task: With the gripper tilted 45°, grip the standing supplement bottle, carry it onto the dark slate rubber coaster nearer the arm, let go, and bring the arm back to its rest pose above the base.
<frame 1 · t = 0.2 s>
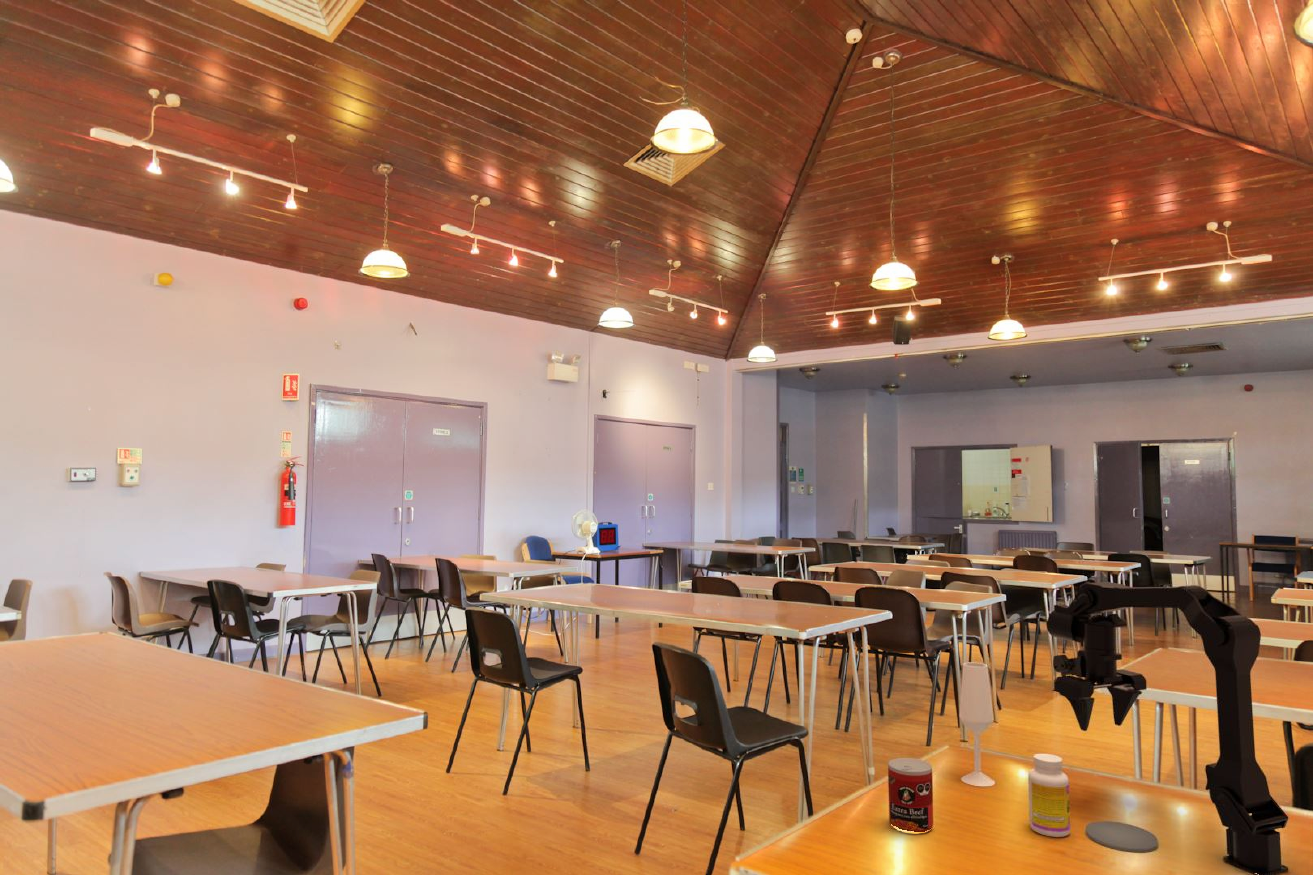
hand: (1100, 727, 160), 15 cm above the table, tool pointing down, fingers open, 9 cm apart
champagne flute: (978, 781, 172), on the table
supplement bottle: (1049, 831, 147), on the table
canned food: (911, 827, 149), on the table
slate coaster: (1121, 838, 144), on the table
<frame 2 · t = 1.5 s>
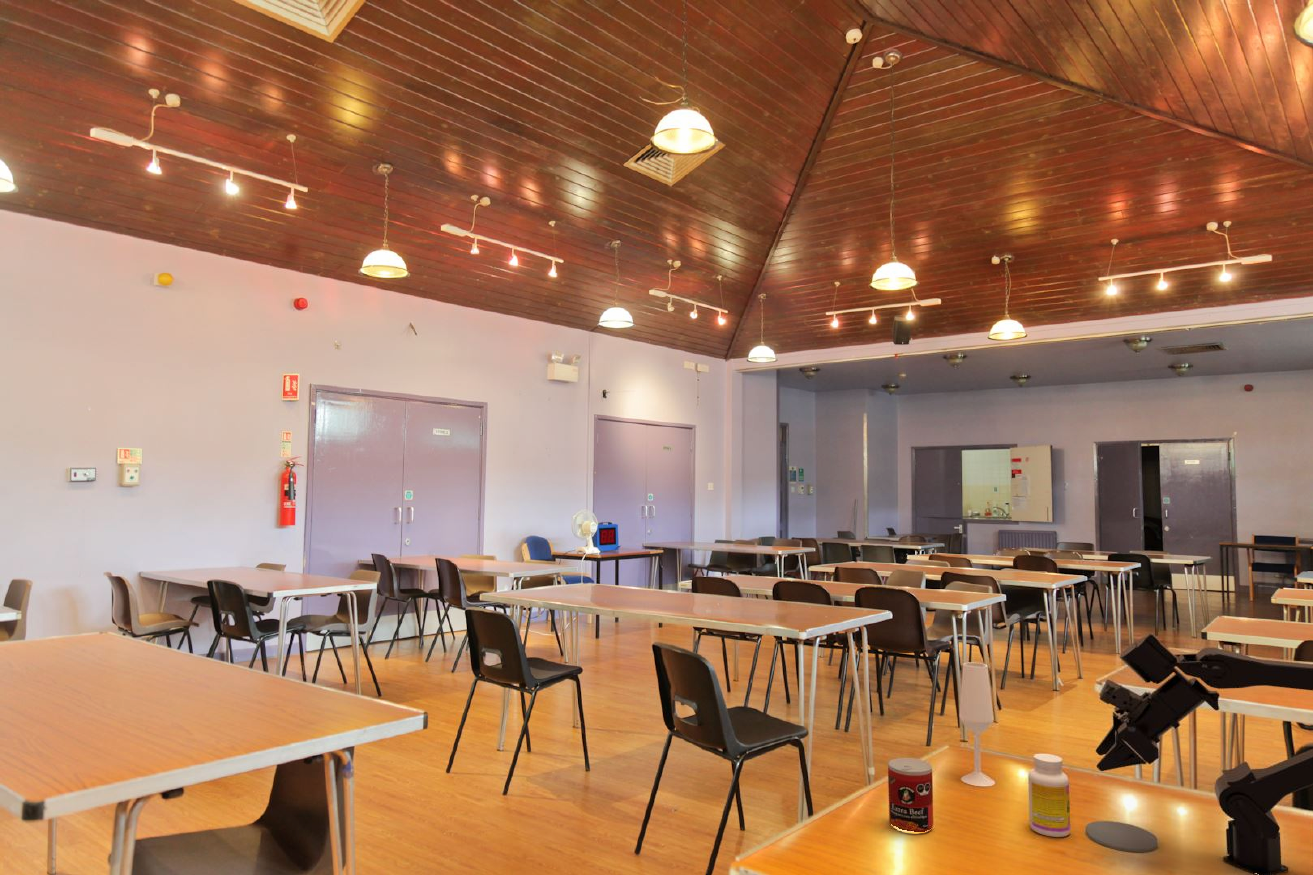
hand: (1098, 760, 144), 13 cm above the table, tool tilted 45°, fingers open, 9 cm apart
nothing on the table moved.
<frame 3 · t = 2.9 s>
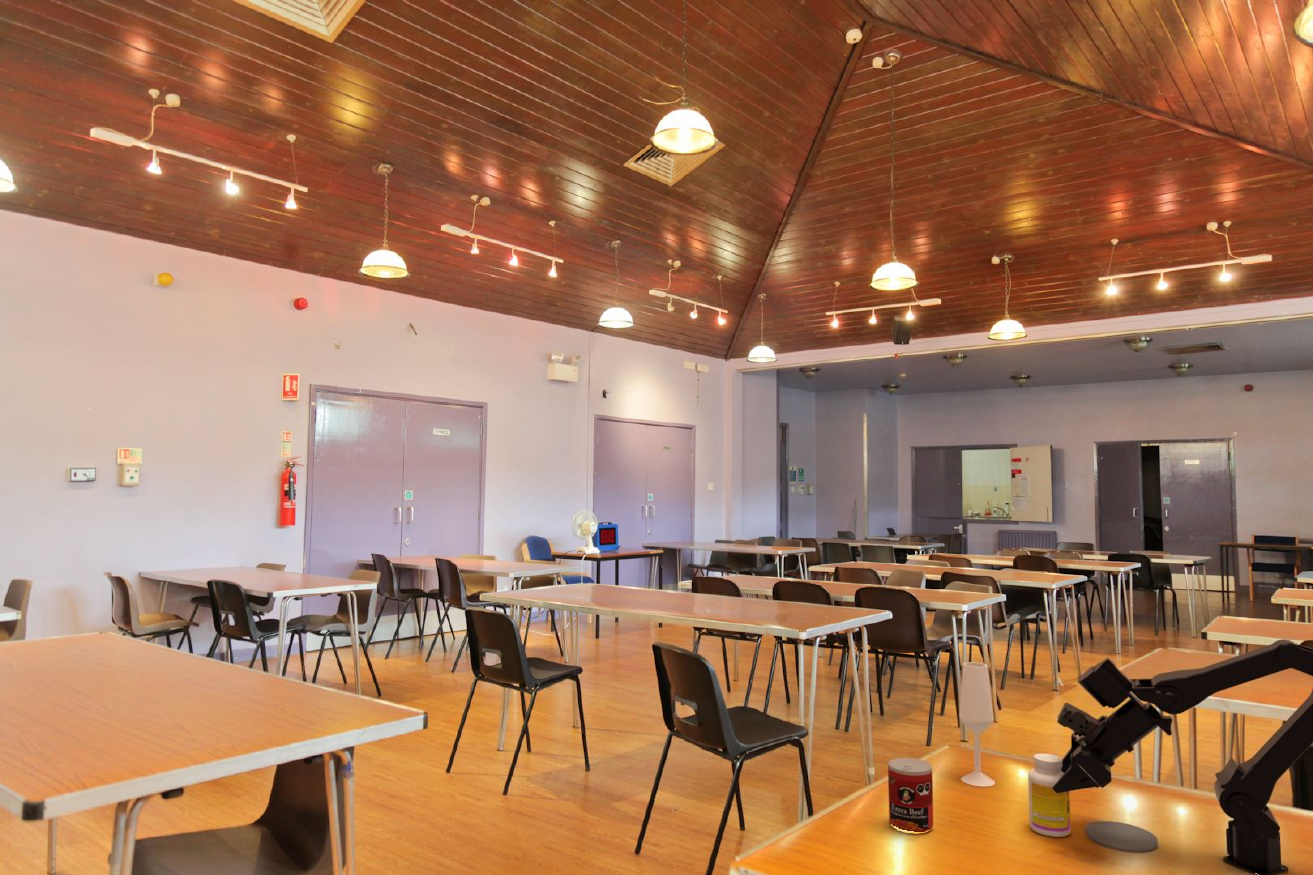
hand: (1055, 782, 147), 9 cm above the table, tool tilted 45°, fingers open, 9 cm apart
nothing on the table moved.
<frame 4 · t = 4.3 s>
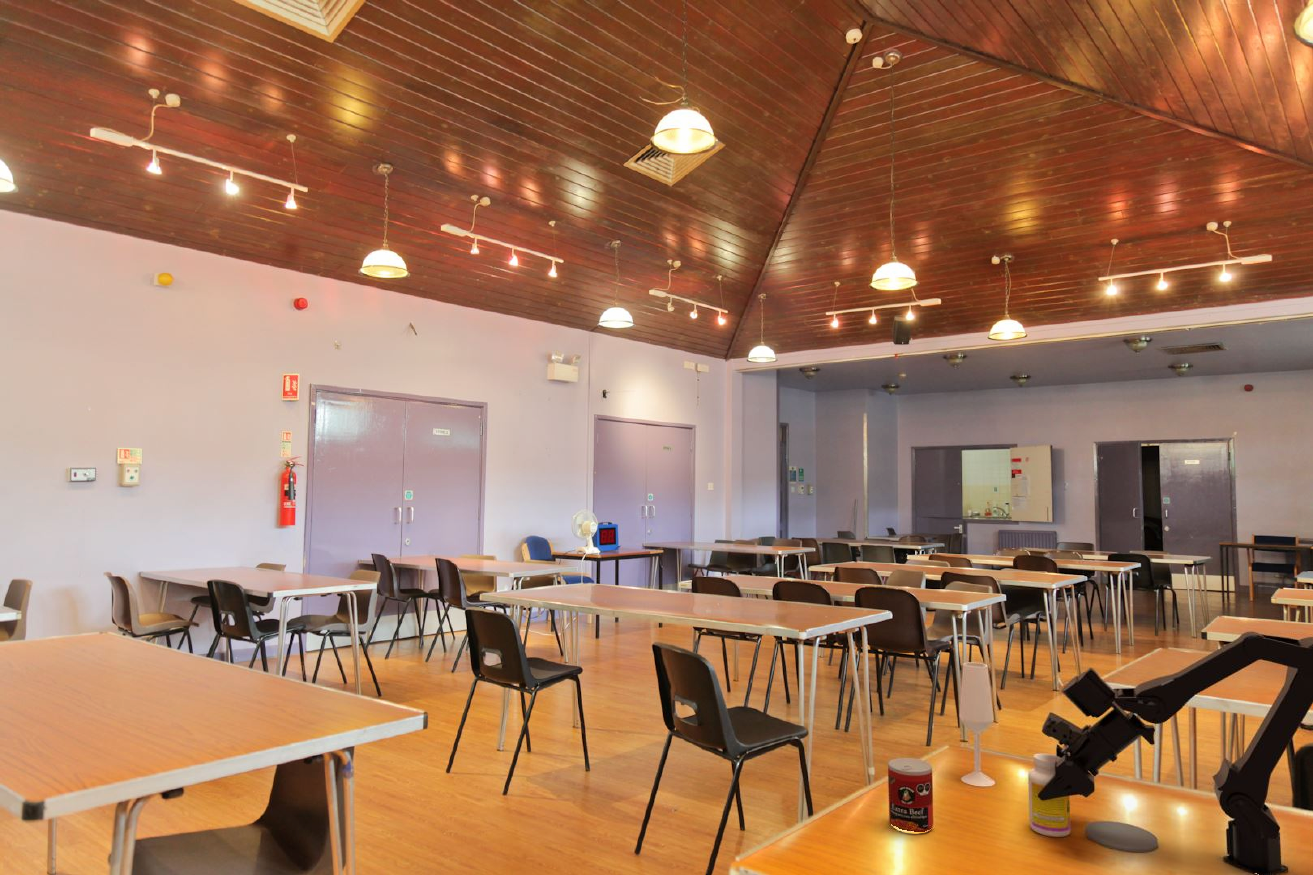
hand: (1040, 791, 148), 7 cm above the table, tool tilted 45°, fingers closed on supplement bottle, 7 cm apart
supplement bottle: (1049, 831, 147), on the table, touching gripper
everything else where it was.
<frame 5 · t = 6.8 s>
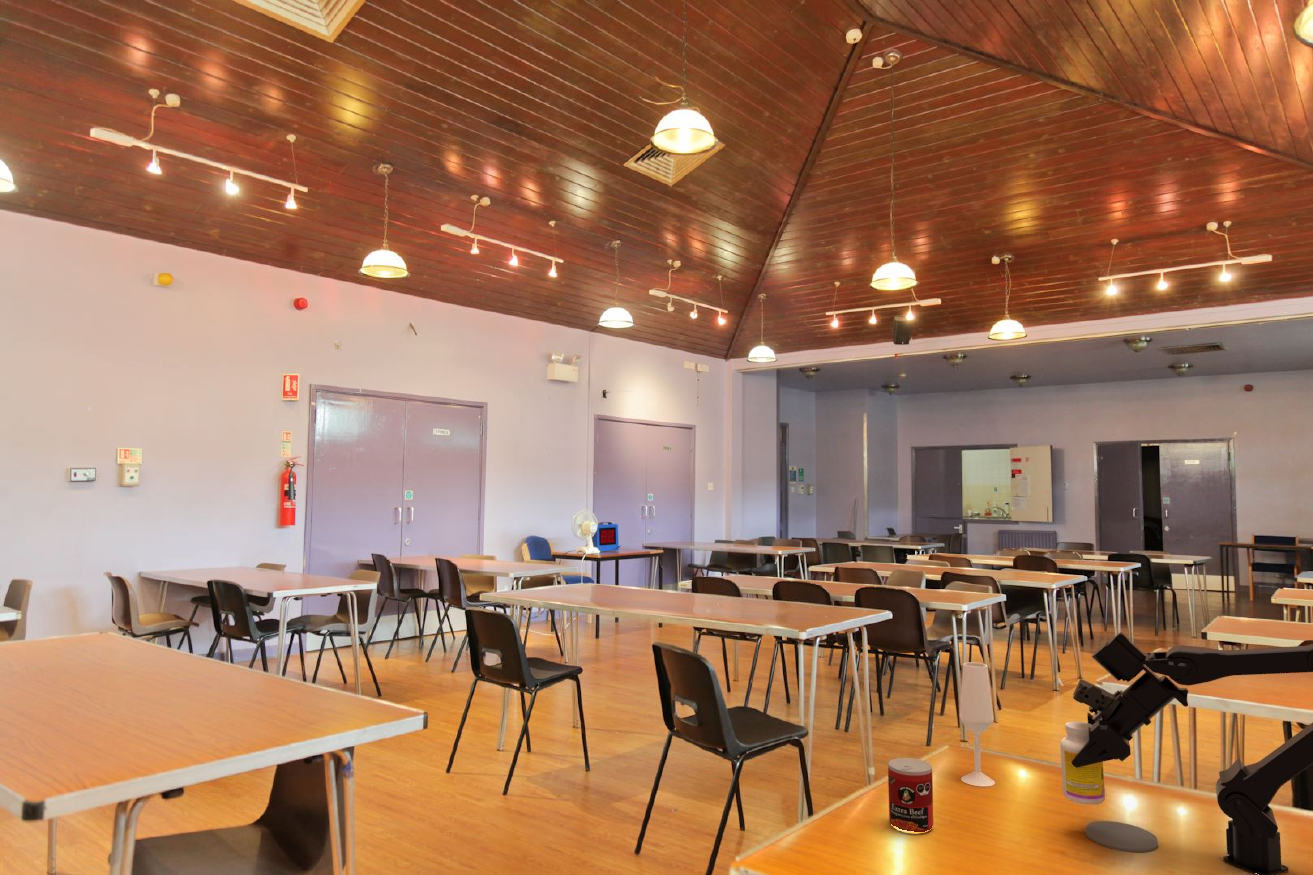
hand: (1073, 759, 147), 13 cm above the table, tool tilted 45°, fingers closed on supplement bottle, 7 cm apart
supplement bottle: (1084, 799, 146), point 6 cm above the table, touching gripper
everything else where it was.
when the fingers open (9 cm above the table, at t = 9.3 s): supplement bottle drops 1 cm, resting on slate coaster.
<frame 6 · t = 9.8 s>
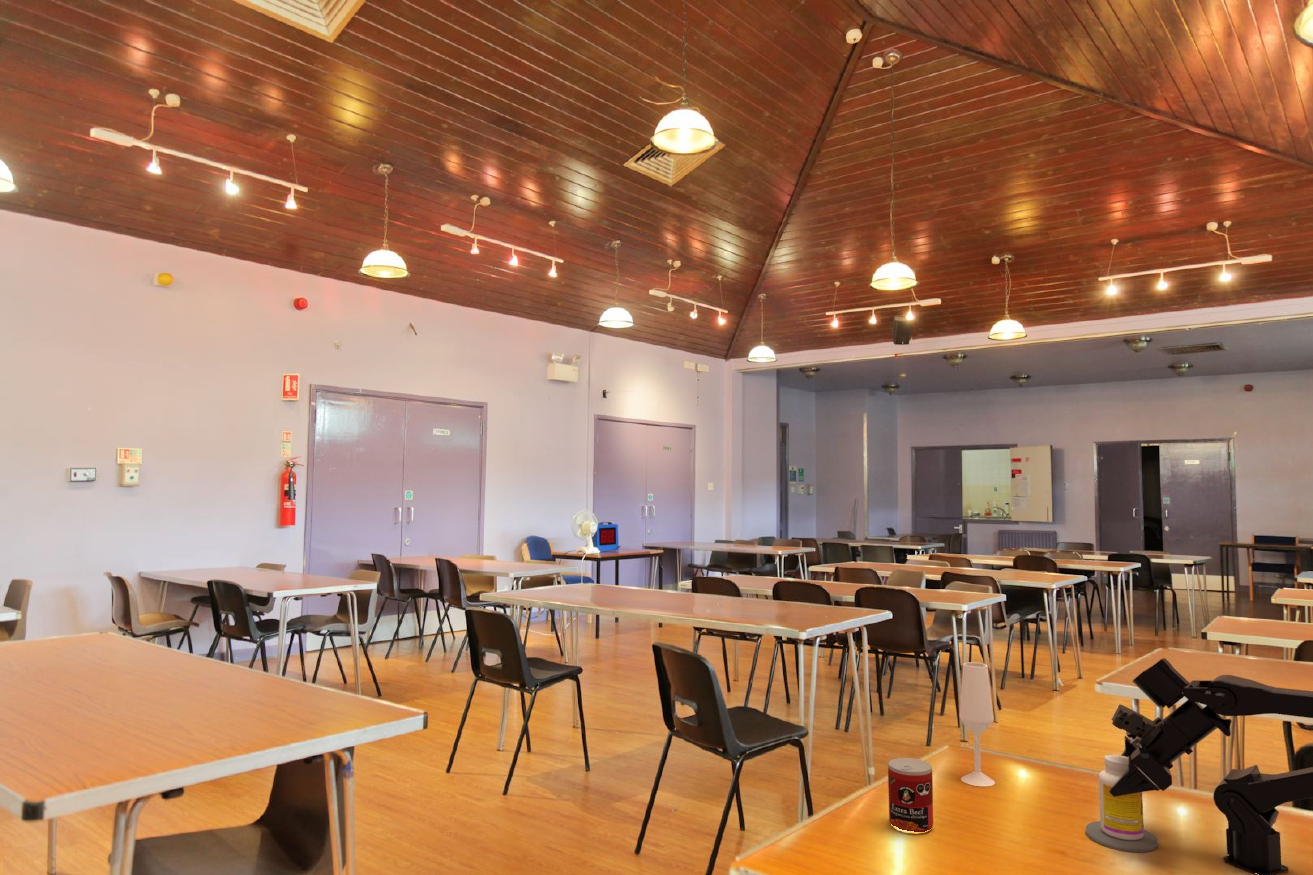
hand: (1110, 785, 145), 9 cm above the table, tool tilted 45°, fingers open, 9 cm apart
supplement bottle: (1122, 834, 144), point 1 cm above the table, touching slate coaster
everything else where it was.
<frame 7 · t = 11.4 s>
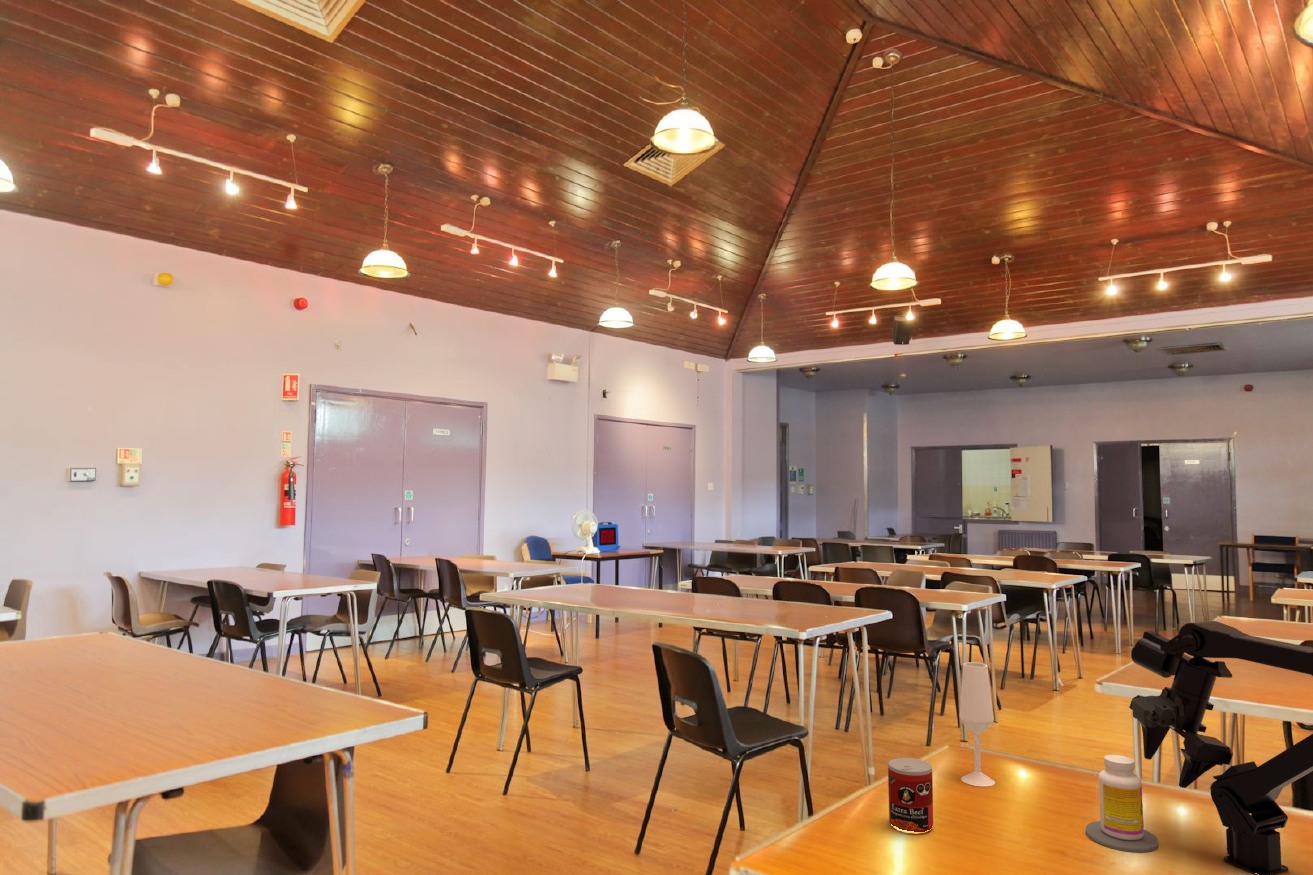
hand: (1164, 772, 145), 11 cm above the table, tool tilted 15°, fingers open, 9 cm apart
nothing on the table moved.
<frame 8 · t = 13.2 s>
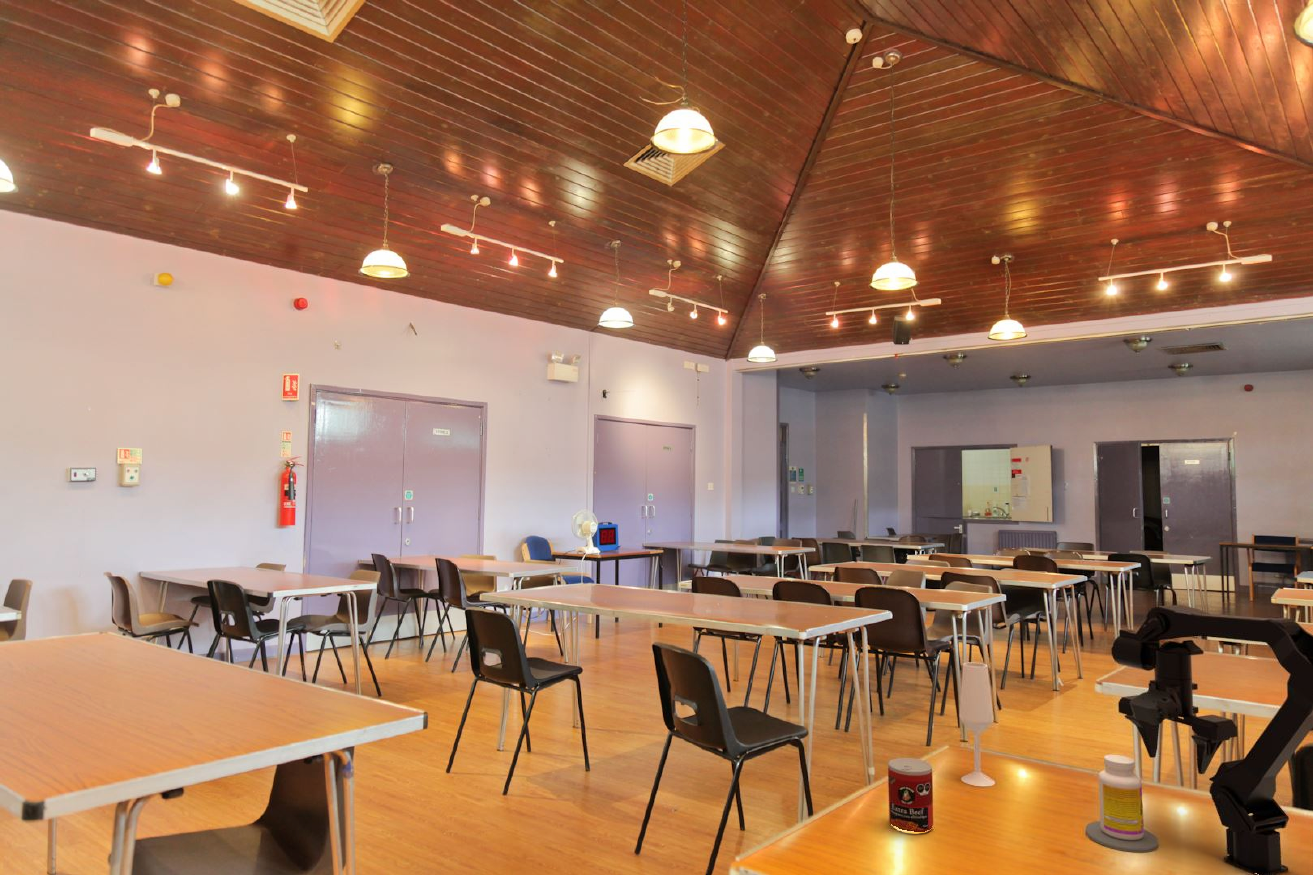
hand: (1176, 765, 146), 12 cm above the table, tool pointing down, fingers open, 9 cm apart
nothing on the table moved.
at the end: supplement bottle 0.2 cm from the slate coaster (horizontally); supplement bottle tilted 0°; the gripper is holding nothing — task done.
